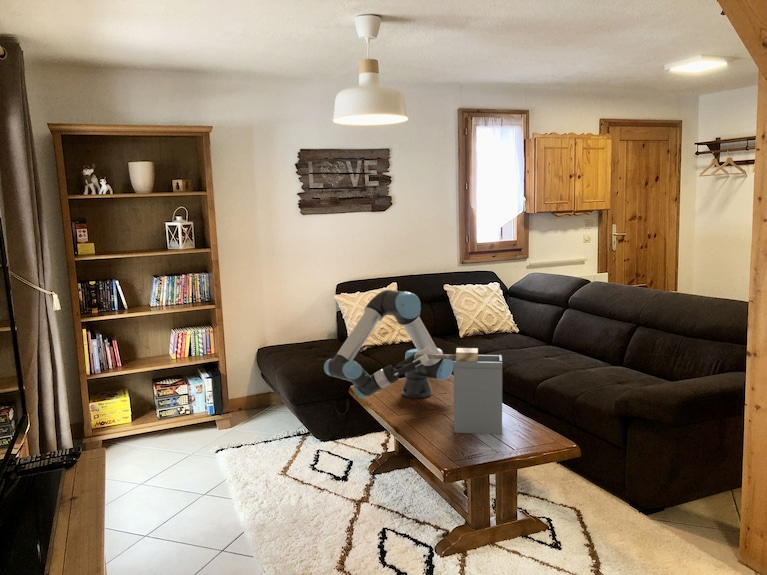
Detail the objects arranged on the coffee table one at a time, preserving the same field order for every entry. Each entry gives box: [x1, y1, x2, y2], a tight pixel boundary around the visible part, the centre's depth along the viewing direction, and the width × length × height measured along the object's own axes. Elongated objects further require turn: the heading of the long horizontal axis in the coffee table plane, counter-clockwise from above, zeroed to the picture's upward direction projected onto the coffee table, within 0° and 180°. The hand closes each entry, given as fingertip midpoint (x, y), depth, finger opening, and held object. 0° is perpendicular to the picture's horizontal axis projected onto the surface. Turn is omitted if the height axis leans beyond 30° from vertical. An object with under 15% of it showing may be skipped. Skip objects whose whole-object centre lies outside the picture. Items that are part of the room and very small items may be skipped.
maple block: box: [414, 347, 479, 362], centre depth 264 cm, size 27×8×6 cm, turn 81°
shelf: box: [453, 353, 503, 435], centre depth 264 cm, size 20×14×31 cm
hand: (428, 353), depth 265 cm, fingers open, 13 cm apart
